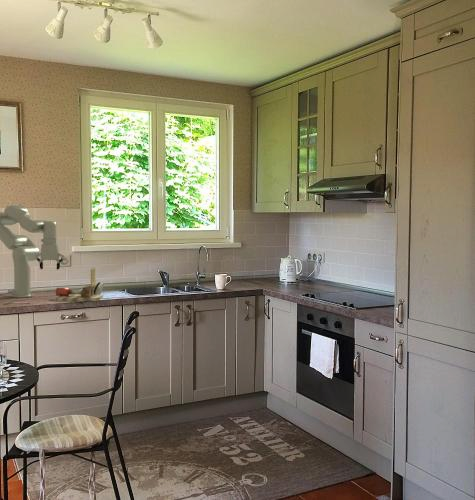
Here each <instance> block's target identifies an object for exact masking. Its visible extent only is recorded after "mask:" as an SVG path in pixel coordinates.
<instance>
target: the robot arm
mask: <svg viewBox="0 0 475 500" xmlns="http://www.w3.org/2000/svg"><path fill="white" fill-rule="evenodd" d="M17 223H18V224H19V225H20V227H21V229H22V230H25V231H27V232H28V233H32V234H37V233H38V234H41V233H43V234H42V235H43V238H42V239H40V242H42V243H41V246H40V249H39V248H38V246H37V245H36V244H35V243H34V242H33V241H32V240H31V238H30V237H28V236H27V235H24V234H19V235H18V234H15V233H14V232H13V231H12V230H11V229H9V228H8V227H7V226H14V225H16V224H17ZM0 241H1V242H2V243H3V245H4V246H5V247H6V249H8V250H10V251H12V252H11V255H12V260H13V261H12V262H13V275H14V276H13V278H14V279H13V281H14V284H13V285H14V286H13V287H14V288H13V289H8V290H7V294H11V297H12V298H31V297H33V296H34V293H31V266H30V263H29V262H31V261H32V262H33V261H37V262H38V263H39V269H40V270H43V269H44V262H43V261H56V270H59V269H60V268H61V263H62V261H63V260H64V258H65V255H63V253H60V252H59V251H60V250H59V245H58V243H57V222H56V221H54V220H53V221H51V220H33V219H31V214H30V213H29V212H28V208H27V207H26V206H24V205H18V204H17V205H16V204H15V205H13V204H12V205H8V206H6V207H5V208H4V211H0Z"/></svg>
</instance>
